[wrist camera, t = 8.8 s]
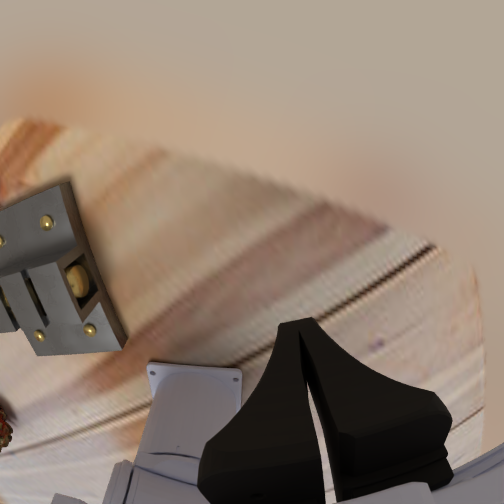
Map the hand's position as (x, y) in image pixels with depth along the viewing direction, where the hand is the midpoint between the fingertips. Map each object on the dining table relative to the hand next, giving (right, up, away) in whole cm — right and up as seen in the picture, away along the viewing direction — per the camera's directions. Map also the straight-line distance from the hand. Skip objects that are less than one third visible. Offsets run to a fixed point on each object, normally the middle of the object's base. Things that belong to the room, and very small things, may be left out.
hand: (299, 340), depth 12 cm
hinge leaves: (-18, +1, +10) cm, 21 cm away
